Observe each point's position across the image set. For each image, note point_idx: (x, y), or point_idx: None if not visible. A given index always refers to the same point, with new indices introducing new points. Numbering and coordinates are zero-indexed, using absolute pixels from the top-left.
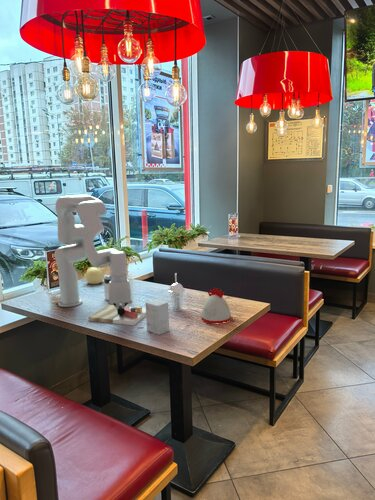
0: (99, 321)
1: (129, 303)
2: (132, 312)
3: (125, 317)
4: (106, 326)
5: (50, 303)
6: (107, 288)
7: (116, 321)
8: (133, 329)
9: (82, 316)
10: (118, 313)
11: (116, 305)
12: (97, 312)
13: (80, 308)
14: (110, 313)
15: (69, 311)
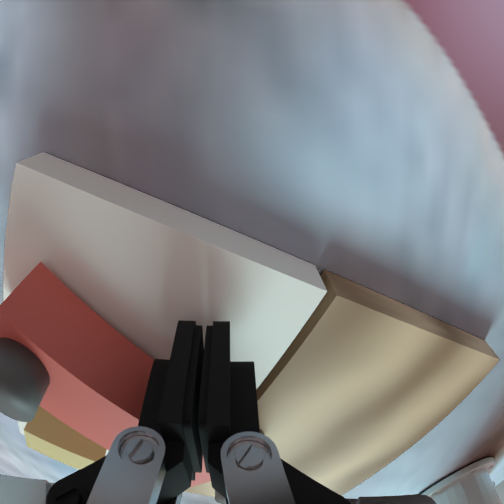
0: (433, 318)
1: (23, 484)
2: (4, 317)
3: (152, 327)
4: (391, 176)
5: (497, 464)
6: None
7: (271, 257)
8: (48, 27)
9: (482, 397)
10: (243, 371)
11: (284, 495)
12: (419, 433)
13: (445, 464)
14: (330, 428)
15: (493, 433)
